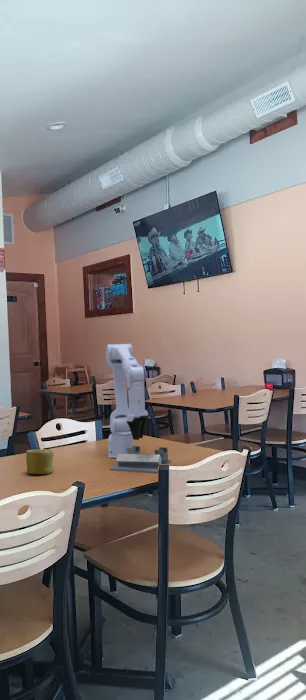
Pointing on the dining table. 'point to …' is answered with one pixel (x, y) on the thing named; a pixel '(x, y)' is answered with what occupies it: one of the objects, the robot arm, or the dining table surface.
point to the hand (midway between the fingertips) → (137, 438)
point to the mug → (39, 461)
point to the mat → (136, 468)
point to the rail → (139, 459)
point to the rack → (162, 452)
